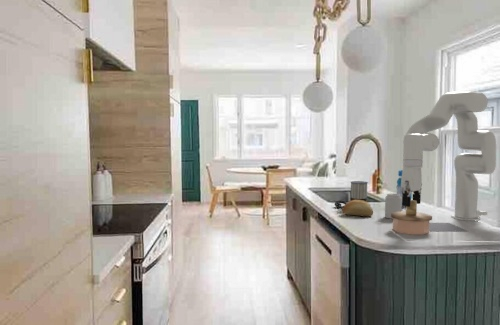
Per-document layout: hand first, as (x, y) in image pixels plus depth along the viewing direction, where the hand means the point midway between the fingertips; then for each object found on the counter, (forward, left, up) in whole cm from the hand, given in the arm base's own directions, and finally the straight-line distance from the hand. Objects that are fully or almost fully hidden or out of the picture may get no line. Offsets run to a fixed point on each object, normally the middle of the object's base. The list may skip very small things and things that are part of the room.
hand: (411, 204), depth 174 cm
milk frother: (+12, -55, -12) cm, 57 cm away
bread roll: (+13, -35, -12) cm, 39 cm away
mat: (-16, -7, -11) cm, 20 cm away
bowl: (0, 0, -11) cm, 11 cm away
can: (-2, -27, -12) cm, 29 cm away
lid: (0, 0, -5) cm, 5 cm away
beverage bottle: (-21, -64, -12) cm, 68 cm away
